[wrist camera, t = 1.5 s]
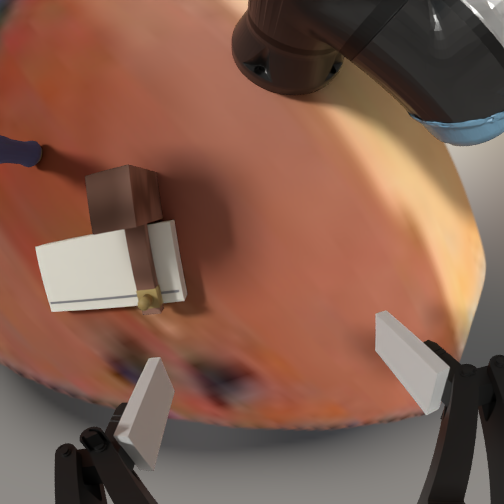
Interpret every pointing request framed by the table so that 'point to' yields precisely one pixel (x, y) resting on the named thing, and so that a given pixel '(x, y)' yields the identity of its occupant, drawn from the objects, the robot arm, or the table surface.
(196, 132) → the table surface
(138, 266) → the block
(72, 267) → the board
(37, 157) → the rubber mallet
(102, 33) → the table surface
